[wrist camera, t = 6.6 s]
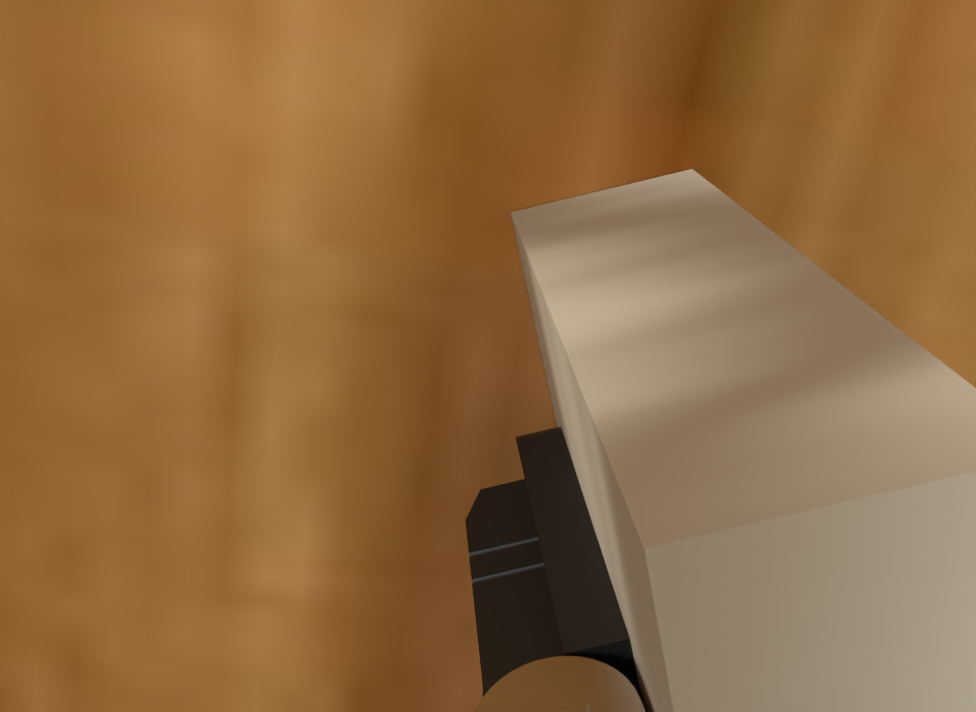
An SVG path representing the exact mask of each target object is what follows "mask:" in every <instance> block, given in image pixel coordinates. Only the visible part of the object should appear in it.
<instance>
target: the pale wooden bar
mask: <svg viewBox="0 0 976 712" xmlns="http://www.w3.org/2000/svg"><path fill="white" fill-rule="evenodd" d="M511 216H512V221H513V225H514V230H515V234H516V239H517V244H518V248H519V253H520V257H521V262H522V267H523V271H524V276H525V281H526V285H527V290H528V294H529V299H530V304H531V308H532V313H533V317H534V322H535V327H536V331H537V336H538V341H539V345H540V350H541V354H542V359H543V364H544V368H545V373H546V377H547V382H548V387H549V391H550V396H551V400H552V405H553V410H554V414H555V419H556V424H557V427H561V428H562V431H563V434H564V437H565V440H566V443H567V446H568V449H569V453H570V456H571V459H572V462H573V465H574V468H575V471H576V474H577V477H578V480H579V483H580V486H581V490H582V493H583V496H584V499H585V502H586V505H587V508H588V511H589V514H590V517H591V520H592V523H593V527H594V530H595V533H596V536H597V539H598V542H599V545H600V548H601V551H602V554H603V557H604V560H605V564H606V567H607V570H608V573H609V576H610V579H611V582H612V585H613V588H614V591H615V594H616V597H617V600H618V604H619V607H620V610H621V613H622V616H623V619H624V622H625V625H626V628H627V631H628V634H629V637H630V642H631V647H632V652H633V657H634V662H635V667H636V672H637V677H638V682H639V687H640V690H641V693H642V696H643V699H644V702H645V705H646V709H647V712H976V388H975V387H974V386H972V385H971V384H970V383H968V382H967V381H966V380H964V379H963V378H962V377H961V376H959V375H958V374H957V373H955V372H954V371H953V370H952V369H950V368H949V367H948V366H946V365H945V364H944V363H943V362H941V361H940V360H939V359H937V358H936V357H935V356H933V355H932V354H931V353H930V352H928V351H927V350H926V349H924V348H923V347H922V346H921V345H919V344H918V343H917V342H915V341H914V340H913V339H911V338H910V337H909V336H908V335H906V334H905V333H904V332H902V331H901V330H900V329H899V328H897V327H896V326H895V325H893V324H892V323H891V322H889V321H888V320H887V319H886V318H884V317H883V316H882V315H880V314H879V313H878V312H877V311H875V310H874V309H873V308H871V307H870V306H869V305H868V304H866V303H865V302H864V301H862V300H861V299H860V298H858V297H857V296H856V295H855V294H853V293H852V292H851V291H849V290H848V289H847V288H846V287H844V286H843V285H842V284H840V283H839V282H838V281H836V280H835V279H834V278H833V277H831V276H830V275H829V274H827V273H826V272H825V271H824V270H822V269H821V268H820V267H818V266H817V265H816V264H815V263H813V262H812V261H811V260H809V259H808V258H807V257H805V256H804V255H803V254H802V253H800V252H799V251H798V250H796V249H795V248H794V247H793V246H791V245H790V244H789V243H787V242H786V241H785V240H783V239H782V238H781V237H780V236H778V235H777V234H776V233H774V232H773V231H772V230H771V229H769V228H768V227H767V226H765V225H764V224H763V223H761V222H760V221H759V220H758V219H756V218H755V217H754V216H752V215H751V214H750V213H749V212H747V211H746V210H745V209H743V208H742V207H741V206H740V205H738V204H737V203H736V202H734V201H733V200H732V199H730V198H729V197H728V196H727V195H725V194H724V193H723V192H721V191H720V190H719V189H718V188H716V187H715V186H714V185H712V184H711V183H710V182H708V181H707V180H706V179H705V178H703V177H702V176H701V175H699V174H698V173H697V172H696V171H694V170H693V169H690V170H686V171H682V172H677V173H673V174H669V175H665V176H661V177H657V178H652V179H648V180H644V181H640V182H636V183H632V184H627V185H623V186H619V187H615V188H611V189H607V190H602V191H598V192H594V193H590V194H586V195H582V196H577V197H573V198H569V199H565V200H561V201H557V202H552V203H548V204H544V205H540V206H536V207H532V208H527V209H523V210H519V211H515V212H511Z"/></svg>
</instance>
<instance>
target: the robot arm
mask: <svg viewBox="0 0 976 712" xmlns="http://www.w3.org/2000/svg"><path fill="white" fill-rule="evenodd" d="M516 441H517V445H518V450H519V454H520V459H521V463H522V467H523V472H524V476H525V479H523V480H519V481H515V482H510V483H506V484H502V485H497V486H493V487H489V488H485V489H481V490H480V492H479V494H478V496H477V498H476V500H475V502H474V504H473V506H472V508H471V510H470V512H469V514H468V516H467V518H466V529H467V539H468V548H469V554H470V557H469V558H470V567H471V577H472V581H473V584H472V586H473V596H474V606H475V615H476V625H477V634H478V644H479V653H480V663H481V672H482V682H483V698H482V699H481V701H480V703H479V704H478V706H477V708H476V710H475V712H647V709H646V705H645V702H644V699H643V696H642V693H641V690H640V687H639V682H638V677H637V672H636V667H635V662H634V657H633V652H632V647H631V642H630V637H629V634H628V631H627V628H626V625H625V622H624V619H623V616H622V613H621V610H620V607H619V604H618V600H617V597H616V594H615V591H614V588H613V585H612V582H611V579H610V576H609V573H608V570H607V567H606V564H605V560H604V557H603V554H602V551H601V548H600V545H599V542H598V539H597V536H596V533H595V530H594V527H593V523H592V520H591V517H590V514H589V511H588V508H587V505H586V502H585V499H584V496H583V493H582V490H581V486H580V483H579V480H578V477H577V474H576V471H575V468H574V465H573V462H572V459H571V456H570V453H569V449H568V446H567V443H566V440H565V437H564V434H563V431H562V428H561V427H557V428H552V429H548V430H544V431H540V432H535V433H531V434H527V435H523V436H518V437H516Z"/></svg>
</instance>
